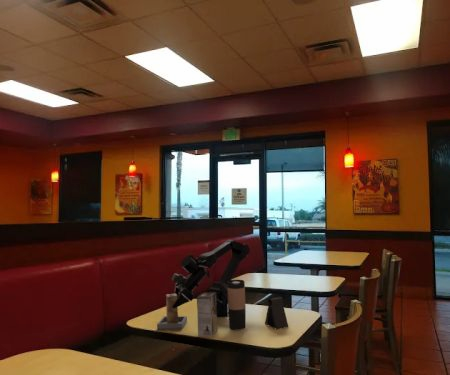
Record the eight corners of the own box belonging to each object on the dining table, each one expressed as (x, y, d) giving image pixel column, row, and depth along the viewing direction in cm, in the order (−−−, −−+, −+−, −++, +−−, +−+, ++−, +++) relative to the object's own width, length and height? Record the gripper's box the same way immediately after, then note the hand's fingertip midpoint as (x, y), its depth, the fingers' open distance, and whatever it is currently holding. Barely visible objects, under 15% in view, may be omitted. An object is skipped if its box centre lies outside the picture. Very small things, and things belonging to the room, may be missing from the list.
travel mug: (237, 323, 171) (235, 278, 172) (249, 327, 165) (248, 280, 166) (225, 327, 166) (223, 281, 166) (237, 331, 160) (236, 283, 161)
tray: (186, 321, 176) (186, 316, 176) (181, 329, 165) (181, 323, 165) (163, 321, 177) (163, 316, 177) (157, 329, 166) (157, 323, 166)
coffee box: (203, 329, 165) (202, 291, 166) (217, 329, 164) (216, 292, 164) (197, 336, 156) (196, 297, 157) (212, 337, 155) (211, 297, 155)
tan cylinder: (176, 322, 174) (175, 293, 174) (178, 325, 169) (177, 295, 170) (166, 323, 172) (166, 294, 173) (168, 326, 168) (167, 296, 169)
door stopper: (288, 326, 164) (287, 298, 165) (277, 329, 161) (276, 301, 162) (275, 321, 172) (274, 294, 173) (264, 324, 169) (263, 296, 170)
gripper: (178, 263, 182) (156, 289, 179) (185, 270, 164) (160, 298, 161) (195, 278, 184) (173, 304, 181) (204, 286, 166) (179, 315, 163)
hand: (171, 305), depth 171 cm, fingers open, 9 cm apart
